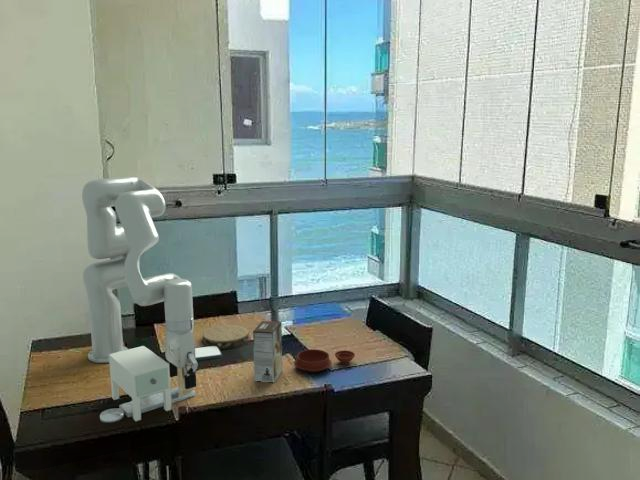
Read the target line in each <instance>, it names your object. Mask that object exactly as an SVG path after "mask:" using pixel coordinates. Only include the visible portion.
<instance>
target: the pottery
mask: <svg viewBox="0 0 640 480" xmlns="http://www.w3.org/2000/svg"><path fill="white" fill-rule="evenodd" d="M334 356H335V358H336V359H337V360H338V362H339V364H340V365H343V366H344V365H345V366H346V365H349V364H350V363H351V361H352V360H353V359H354V358H355V356H356V354H355V352H353V351H351V350H339V351H336V352H335V353H334ZM293 363H294V364H293V365H294V366H295V367H296V368H297V369H300V370H302V371H306V372H307V373H319V372H321V371H323V370H326V369H329V368H330V367H331V366H332V363H333V362H332V360H331V359H330V354H329V353H328V352H327V351H325V350H321V349H305V350H301V351H300V352H298V353H297V354H296V359H295V360H294V362H293Z"/></svg>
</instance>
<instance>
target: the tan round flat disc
mask: <svg viewBox="0 0 640 480" xmlns="http://www.w3.org/2000/svg"><path fill="white" fill-rule="evenodd" d="M248 341H249V330H248V329H247V328H246V327H244V326H241V325H237V324H221V325H220V324H219V325H215V326H210V327H208V328H206V329H205V330H204V331H203V332H202V344H204V345H205V347H209V346H218V348H219V349H223V350H224V349H232V348H237V347H240V346H242V345H245V344H246V343H247V342H248Z"/></svg>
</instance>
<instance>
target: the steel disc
mask: <svg viewBox="0 0 640 480" xmlns="http://www.w3.org/2000/svg"><path fill="white" fill-rule="evenodd" d="M124 417H125V414H124V411H123V410H122V409H119V408H108V409H105V410H104V411H102V412H101V413H100V414H99V419H100V420H99V421H101V423H108V424H112V423H116V422H119V421H121V420H123V418H124Z"/></svg>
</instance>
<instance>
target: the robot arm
mask: <svg viewBox="0 0 640 480" xmlns="http://www.w3.org/2000/svg"><path fill="white" fill-rule="evenodd" d="M81 199H82V200H81V201H82V204H83V208H84V211H85V213H86V229H87V230H86V232H87V233H86V234H87V235H86V236H87V250H88V251H87V252H88V254H89V256H90V257H91V258H92V259H94V260H102V261H97V262H94V263H91V264H89V265H87V266H86V267H85V268H84V270H83V272H82V281H83V283H84V286H85V290H86V291H85V292H86V295H87V302H88V313H89V323H90V334H91V335H90V336H91V347H92V350H90V351H89V352H88V354H87V359H88V360H89V361H91V362H93V363H97V364H98V363H99V364H100V363H101V364H102V363H103V364H104V363H106V364H107V363H109V354H113V353H116V352H120V351H124V350H128V349H129V348H128V347H127V346H124V340H123V338H124V337H123V327H122V325H123V324H122V311H121V303H120V300H119V298H118V296H116V295H115V294H114V293H113V290H117V289H121V288H125V287H128V291H129V293H130V296H131V297H132V299H133V301H134V302H135V303H136V304H137V305H138V306H140V307H147V306H152V305H155V304H159V303H164V304H163V305H164V316H165V317H164V318H165V319H164V320H165V337H164V341H165V342H164V347H165V349H164V351H165V353H164V354H165V355H164V356H165V359H166V360H167V363H168V364H169V370H170V378H173V377H178V373H177V367H178V368H182V367H183V369H184V371H185V374H186V375H184V380H185V389H190V388H193V389H194V388H196V387H197V371H198V365H199V363H198V361H196V356H195V348H196V345H195V337H194V331H193V330H194V328H195V322H194V307H193V306H194V303H193V285H192V282H191V281H190V280H188V279H186V278H185V279H184V278H181V277H180V276H179V275H177V274H175V273H172V272H167V273H163V274H158V275H157V274H156V275H154V276H153V275H152V276H149V277H144V278H143V276H142V274H141V271H140V270H141V269H140V265H141V264H140V261H141V259H140V258H141V256H142V254H143V253H145V252H146V251H148V250H149V249H151V248H152V247H154V246H155V245H157V243H158V242H159V240H160V237H159V236H160V235H159V233H158V231H157V229H156V226H155V224H154V220H153V218H159V217H161V216H163V215H164V213H165V212H166V200H165V198H164V196H163V194H162V193H161V192H160V191H159V189H158V188H156V187H155V186H153V185H151V184H150V183H148V182H146V181H145V180H143V179H142V178H140V177H137V176H125V177H124V176H123V177H110V178H109V177H108V178H99V179H94V180H91V181H88V182H86V183H85V184H84V185H83V188H82V192H81ZM112 207H114V208H115V211H116V212H115V211H114V209H113V208H112ZM116 213H117V214H116ZM116 215H117V216H118V219H119V222H120V225H119V226H118V225H117V216H116ZM117 257H118V258H117ZM110 258H114V259H110ZM105 259H106V260H105ZM187 362H189V364H186V363H187ZM189 366H191V368H190V369H189V371H188V369H187V367H189Z"/></svg>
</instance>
